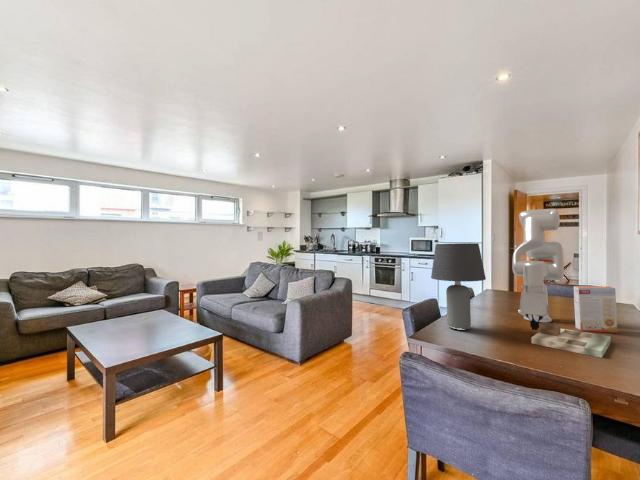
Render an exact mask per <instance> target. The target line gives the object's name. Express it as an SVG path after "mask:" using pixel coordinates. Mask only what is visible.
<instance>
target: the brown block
mask: <svg viewBox="0 0 640 480" xmlns="http://www.w3.org/2000/svg"><path fill="white" fill-rule="evenodd" d="M560 328H561V324H559V323H555V322H554V323H553V322H540V323H539V329H540V330H539V332H540V333H542V334H547V335H553V336H558V335H559V334H561V333H560Z"/></svg>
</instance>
